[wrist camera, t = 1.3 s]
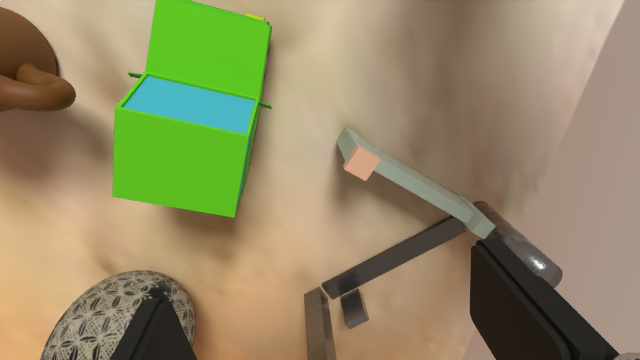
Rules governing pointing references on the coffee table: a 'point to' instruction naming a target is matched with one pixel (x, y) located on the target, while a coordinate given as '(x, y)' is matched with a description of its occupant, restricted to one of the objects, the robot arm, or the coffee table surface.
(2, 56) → the mug
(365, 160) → the gate
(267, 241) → the coffee table surface
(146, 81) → the green toy car
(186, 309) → the decorative egg
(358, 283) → the gate posts
